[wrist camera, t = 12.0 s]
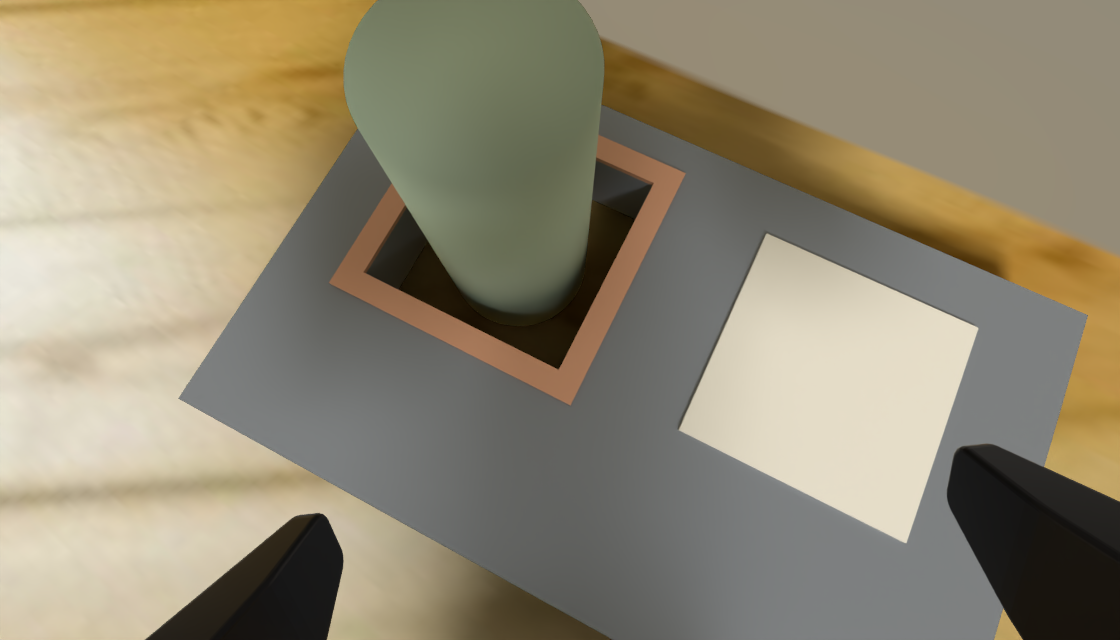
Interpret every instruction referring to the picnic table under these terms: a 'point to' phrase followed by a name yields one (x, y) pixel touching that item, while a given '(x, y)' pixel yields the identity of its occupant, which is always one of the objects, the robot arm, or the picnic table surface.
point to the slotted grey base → (664, 403)
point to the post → (487, 139)
